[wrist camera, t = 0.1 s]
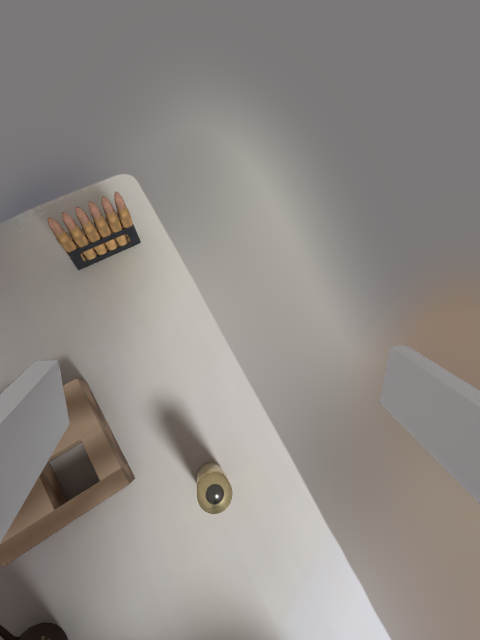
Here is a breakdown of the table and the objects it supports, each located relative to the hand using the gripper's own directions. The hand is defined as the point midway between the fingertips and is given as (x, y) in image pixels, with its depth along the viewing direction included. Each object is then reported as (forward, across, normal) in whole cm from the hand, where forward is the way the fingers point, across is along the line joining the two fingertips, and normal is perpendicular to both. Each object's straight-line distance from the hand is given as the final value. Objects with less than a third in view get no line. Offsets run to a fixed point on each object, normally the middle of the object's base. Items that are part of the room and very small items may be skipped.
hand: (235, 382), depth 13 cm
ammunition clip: (+44, +15, 0) cm, 47 cm away
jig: (+26, +20, +25) cm, 41 cm away
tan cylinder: (+24, 0, +28) cm, 37 cm away
